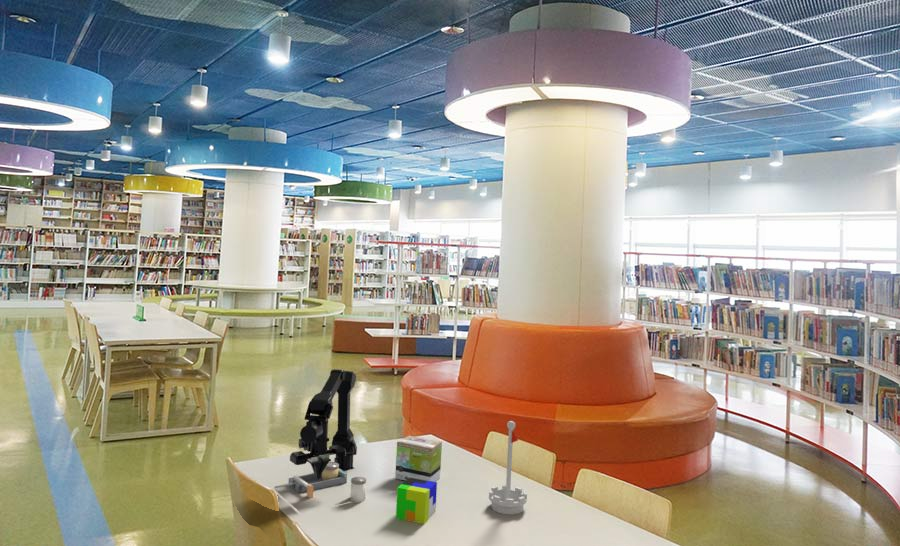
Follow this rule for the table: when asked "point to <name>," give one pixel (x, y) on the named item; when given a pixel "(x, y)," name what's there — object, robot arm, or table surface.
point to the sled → (301, 482)
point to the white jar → (358, 489)
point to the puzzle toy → (416, 500)
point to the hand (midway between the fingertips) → (317, 479)
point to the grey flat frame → (318, 481)
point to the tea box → (418, 459)
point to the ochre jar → (330, 471)
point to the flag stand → (508, 486)
